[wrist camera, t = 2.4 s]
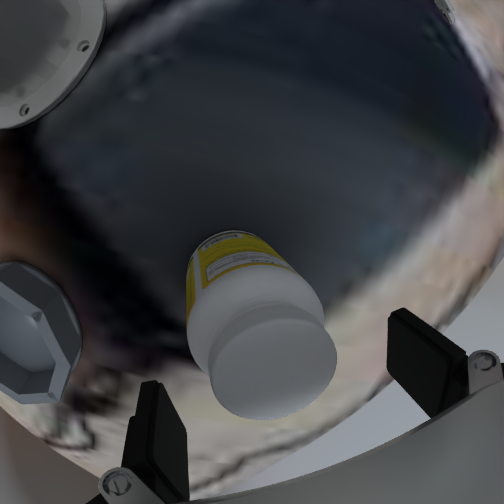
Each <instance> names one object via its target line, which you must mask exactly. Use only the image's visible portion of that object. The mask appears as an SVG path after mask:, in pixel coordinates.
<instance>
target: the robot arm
mask: <svg viewBox="0 0 504 504" xmlns="http://www.w3.org/2000/svg"><path fill="white" fill-rule="evenodd" d="M105 27H106V8H105V3H104V0H0V129H13V128H17V127H22V126H24V125H26V124H28V123H31V122H33V121H35V120H37V119H38V118H40V117H41V116H43V115H44V114H46V113H48V112H49V111H50V110H51V109H53V108H54V107H55V106H56V105H57V104H58V103H60V102H61V101H62V100H63V99H64V98H65V97H66V96H67V95H68V94H69V93H70V92H71V90H72V89H73V88H74V87H75V86H76V85H77V83H78V82H79V81H80V79H81V78H82V77H83V75H84V74H85V73H86V71H87V70H88V68H89V66H90V64H91V63H92V61H93V59H94V58H95V56H96V54H97V51H98V49H99V46H100V44H101V42H102V39H103V35H104V30H105ZM86 48H88V49H87V50H86V51H85V49H86ZM28 111H29V112H28ZM387 370H388V372H389V374H390V375H391V376H392V377H393V378H394V379H395V380H396V381H397V382H398V383H399V384H400V385H401V386H402V387H403V389H404V390H405V391H406V392H407V393H408V394H409V395H410V396H411V397H412V398H413V399H414V401H415V402H416V403H417V404H418V405H419V406H420V407H421V408H422V409H423V410H424V411H425V413H426V414H427V415H428V416H429V417H430V418H431V419H429V420H428V421H426V422H424V423H422V424H421V425H419V426H417V427H415V428H414V429H412V430H410V431H408V432H406V433H404V434H402V435H400V436H398V437H396V438H394V439H392V440H390V441H388V442H386V443H384V444H382V445H380V446H378V447H376V448H374V449H371V450H369V451H367V452H365V453H362V454H360V455H358V456H355V457H353V458H351V459H348V460H346V461H343V462H340V463H338V464H335V465H332V466H330V467H327V468H324V469H322V470H319V471H315V472H313V473H310V474H306V475H304V476H300V477H297V478H294V479H290V480H287V481H283V482H280V483H276V484H272V485H269V486H265V487H260V488H256V489H252V490H247V491H242V492H238V493H233V494H228V495H223V496H217V497H211V498H205V499H198V500H193V501H189V500H190V494H189V476H188V452H187V432H186V429H185V426H184V425H183V423H182V421H181V419H180V417H179V415H178V413H177V411H176V409H175V407H174V406H173V404H172V402H171V400H170V398H169V396H168V394H167V392H166V389H165V387H164V385H163V384H162V383H158V382H157V381H156V380H153V381H147V382H142V383H141V387H140V392H139V397H138V402H137V408H136V413H135V416H131V417H130V420H129V424H128V429H127V435H126V440H125V446H124V452H123V458H122V464H121V467H117V468H112V469H110V470H108V471H107V472H105V473H104V474H103V475H102V477H101V478H100V480H99V490H100V492H101V493H100V494H99V495H97V496H96V497H95V498H93V499H92V500H91V501H89V502H88V503H86V504H504V363H500V359H499V357H498V356H497V355H496V354H495V353H494V352H492V351H488V350H478V351H475V352H473V353H472V354H471V355H470V356H469V357H468V356H467V355H466V351H464V350H463V349H462V348H460V347H459V346H458V345H456V344H455V343H454V342H452V341H451V340H449V339H448V338H447V337H445V336H444V335H442V334H441V333H440V332H438V331H437V330H436V329H434V328H433V327H431V326H430V325H429V324H427V323H426V322H424V321H423V320H421V319H420V318H419V317H417V316H416V315H414V314H413V313H412V312H410V311H409V310H407V309H406V308H400V309H398V310H395V311H393V312H392V313H391V314H390V317H388V340H387Z"/></svg>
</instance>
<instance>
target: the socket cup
mask: <svg viewBox="0 0 504 504" xmlns="http://www.w3.org/2000/svg"><path fill="white" fill-rule="evenodd" d="M82 346H83V336H82V329H81V325H80V321H79V319H78V316H77V313H76V311H75V309H74V307H73V305H72V303H71V302H70V300H69V298H68V297H67V295H66V294H65V293H64V291H63V290H62V289H61V288H60V287H59V285H58V284H57V283H56V282H55V281H54V280H53V279H52V278H50V277H49V276H48V275H47V274H46V273H44V272H43V271H41V270H40V269H38V268H36V267H35V266H32V265H30V264H28V263H24V262H21V261H5V262H2V263H0V390H1V391H2V392H4V393H5V394H7V395H8V396H10V397H11V398H13V399H14V400H16V401H17V402H19V403H21V404H40V403H55V402H59V401H60V399H61V397H62V394H63V392H64V390H65V387H66V385H67V383H68V380H69V377H70V375H71V373H72V371H73V370H74V369H75V367H76V365H77V363H78V360H79V358H80V356H81V352H82Z"/></svg>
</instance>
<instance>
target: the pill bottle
mask: <svg viewBox="0 0 504 504" xmlns="http://www.w3.org/2000/svg"><path fill="white" fill-rule="evenodd" d="M186 309H187V338H188V343H189V347H190V351H191V353H192V356H193V358H194V359H195V361H196V363H197V364H198V366H199V367H200V368H201V369H202V370H203V371H204V372H205V373H206V374H207V375H208V376H209V377H210V381H211V386H212V390H213V392H214V395H215V396H216V398H217V400H218V401H219V403H220V404H221V405H222V406H223V407H224V408H226V409H227V410H228V411H230V412H231V413H233V414H235V415H237V416H240V417H243V418H247V419H253V420H272V419H277V418H282V417H285V416H288V415H291V414H293V413H295V412H297V411H299V410H301V409H303V408H305V407H306V406H308V405H309V404H310V403H312V402H313V401H314V400H315V399H317V398H318V397H319V396H320V395H321V394H322V392H323V391H324V390H325V389H326V387H327V386H328V384H329V383H330V381H331V379H332V377H333V375H334V372H335V369H336V364H337V352H336V348H335V345H334V342H333V341H332V339H331V337H330V335H329V334H328V333H327V331H326V330H325V329H324V313H323V308H322V305H321V303H320V300H319V298H318V296H317V295H316V293H315V292H314V290H313V289H312V287H311V286H310V285H309V284H308V282H307V281H306V280H305V279H303V278H302V277H301V276H300V275H299V274H298V273H297V272H296V271H295V270H294V269H293V268H292V267H291V266H290V265H289V264H288V263H287V262H286V261H285V260H284V259H283V258H282V257H281V256H280V255H279V254H277V253H276V252H275V251H274V250H273V249H272V248H271V247H270V246H269V245H268V244H267V243H266V242H265V241H264V240H262V239H261V238H259V237H257V236H256V235H254V234H251V233H248V232H244V231H236V230H232V231H225V232H221V233H218V234H215V235H213V236H211V237H209V238H208V239H206V240H205V241H204V242H202V243H201V244H200V245H199V246H198V247H197V249H196V250H195V251H194V253H193V255H192V256H191V258H190V261H189V264H188V267H187V273H186Z"/></svg>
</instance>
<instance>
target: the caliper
mask: <svg viewBox="0 0 504 504" xmlns="http://www.w3.org/2000/svg"><path fill="white" fill-rule="evenodd" d="M434 2H435V3H436V5H437V6H438V7H439V9H440V10H441V11H442V13H443V14H445V15H446V17H447V19H448V21H449V23H450V24H451V25H452V24H453V23H455V20H456V19H455V17H454V15H453V13H452V11H454V8H453V6H452V4H451V2H450V0H434Z"/></svg>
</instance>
